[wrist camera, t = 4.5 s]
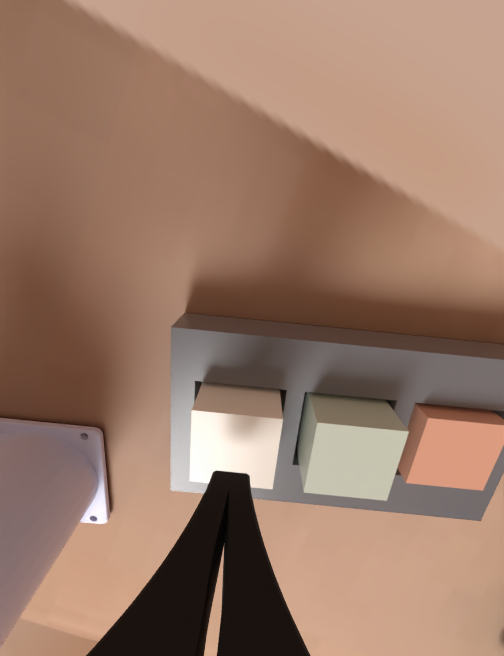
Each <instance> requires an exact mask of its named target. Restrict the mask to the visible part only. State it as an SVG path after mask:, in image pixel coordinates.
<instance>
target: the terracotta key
mask: <svg viewBox="0 0 504 656" xmlns="http://www.w3.org/2000/svg"><path fill="white" fill-rule="evenodd" d="M407 430H408V431H409V433H408V436H407V440H406V443H405V446H404V449H403V452H402V455H401V458H400V461H399V464H398V467H397V468H398V470H399V472H400V473H401V475H402V477H403V479H404V480H405V482H406V483H410V484H420V485H430V486H441V487H451V488H461V489H471V490H481V491H483V489H484V487H485V485H486V483H487V481H488V478H489V476H490V474H491V472H492V470H493V467H494V465H495V463H496V461H497V459H498V456H499V454H500V452H501V450H502V448H503V446H504V419H502V418H501V417H500V416H498V415H497V414H496V413H495V412H493V411H492V410H486V409H476V408H466V407H456V406H446V405H436V404H425V403H415V405H414V408H413V411H412V414H411V417H410V420H409V424H408V427H407Z"/></svg>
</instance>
